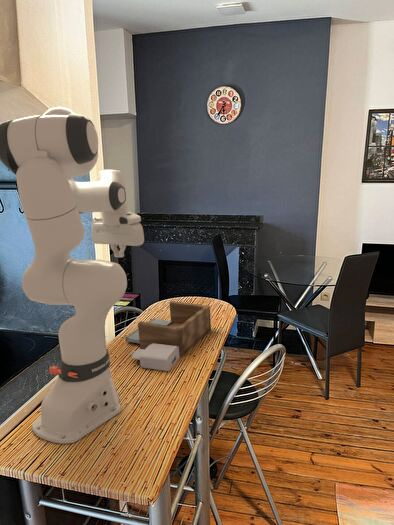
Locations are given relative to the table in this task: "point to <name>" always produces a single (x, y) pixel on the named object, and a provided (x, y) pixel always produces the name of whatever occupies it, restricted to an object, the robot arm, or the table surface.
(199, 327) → the crate
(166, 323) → the tailgate
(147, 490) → the table surface
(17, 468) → the table surface
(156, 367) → the charger
